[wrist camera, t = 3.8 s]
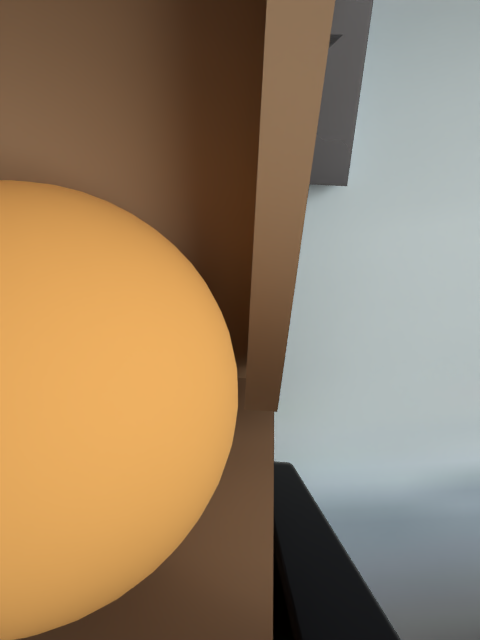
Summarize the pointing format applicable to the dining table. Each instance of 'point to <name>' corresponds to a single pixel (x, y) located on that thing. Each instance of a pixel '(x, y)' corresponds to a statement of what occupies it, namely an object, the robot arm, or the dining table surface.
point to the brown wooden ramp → (186, 229)
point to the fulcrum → (341, 92)
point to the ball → (100, 403)
